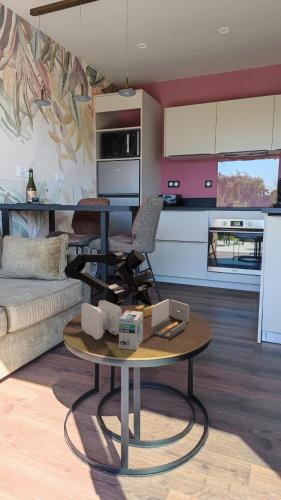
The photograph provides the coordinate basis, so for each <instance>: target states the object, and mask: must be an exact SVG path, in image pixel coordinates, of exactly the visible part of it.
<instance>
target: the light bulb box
mask: <svg viewBox="0 0 281 500" xmlns="http://www.w3.org/2000/svg"><path fill="white" fill-rule="evenodd" d="M143 332H144V317H143V312H136V311H135V310H125V312H123V313H122V316H121V317H120V318H119V334H118V349H122V350H123V349H125V350H132V351H137V350H138V349H139V347H140V345H141V344H142V342H143V337H144V335H143V334H144V333H143Z"/></svg>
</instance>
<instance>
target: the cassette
mask: <svg viewBox="0 0 281 500" xmlns="http://www.w3.org/2000/svg"><path fill="white" fill-rule="evenodd" d="M169 317H170V318H174V319H177V320H179V321H182V322H184V321H186V323H189V322H190V320H189V317H190V305H189V304H187V303H183V302H181V301H178V300H174V299H169Z"/></svg>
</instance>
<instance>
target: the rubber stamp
mask: <svg viewBox="0 0 281 500" xmlns="http://www.w3.org/2000/svg"><path fill="white" fill-rule="evenodd" d="M148 293H149V296H150V297H151V291H150V290H149V292H148ZM154 305H155V304H152V306H154ZM152 306H148V305H146V304H142V305H138V306H136V307H134V311H136V312H143V318H147V317H149V316H150V317H151V316H152Z"/></svg>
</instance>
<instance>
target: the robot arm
mask: <svg viewBox="0 0 281 500" xmlns="http://www.w3.org/2000/svg"><path fill="white" fill-rule="evenodd" d="M144 262H146V257H145V255H144V254H143V253H141V252H140V251H138V250H137V249H136V248H135V249H132V250H131V251H130V253H128V255H126V254H124V253H123V252H121V251H117V252H110V253H86V252H83V253H79V254H77V255H76V256H75V258H74V259H72V260H71V261H70V262H69V263H68V264H67V265H65V267H64V275H65V276H66V277H67V278H69V279H73V280H79V281H81V282H82V283H84V284H86V285H87V286H88V287H90V288H92V289H94V291H96V292H98V293H100V294H102V296H103V298H104V299H103V300H106V301H108V302H110V303H113V304H115V305H117V306H119V307H120V308H121V305H123V303H124V301H127V300H128V299H130V297H131V295H134V296H133V297H132V299H133V300H136V301H137V302H141V303H143V305H145V304H146V305H148V306H152V305H153V302H152V300H151V295H150V296H149V293H148V292H149V291H150V290H151V289H152V288H153V287H154V286H155V284H156V283H155V281H154V280H152V279H153V275H154V273H153V272H152V271H151V270H150V269H147V270H144V272H143V273H141V274H140V273H138V272H135V271H134V270H137V269H138V268H140V266H141V265H143V264H144ZM87 263H91V264H92V263H93V264H95V263H96V264H100V263H101V264H103V265H106V266H109V267H116V268H114V271H113V275H114V276H116V275H119V276H120V277H121V279H122V280H123V285H124V286H127V288H126V289H125V290H124V288H123V287H122V286H119V285H118V284H116V283H114V284H111V285H109V284H107V283H105V281H102V280H101V279H99V278H97V277H96V276H93V275H92V274H90V273H89V272H87V271H86V268H85V267H86V266H87ZM117 266H118V267H117Z"/></svg>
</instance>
